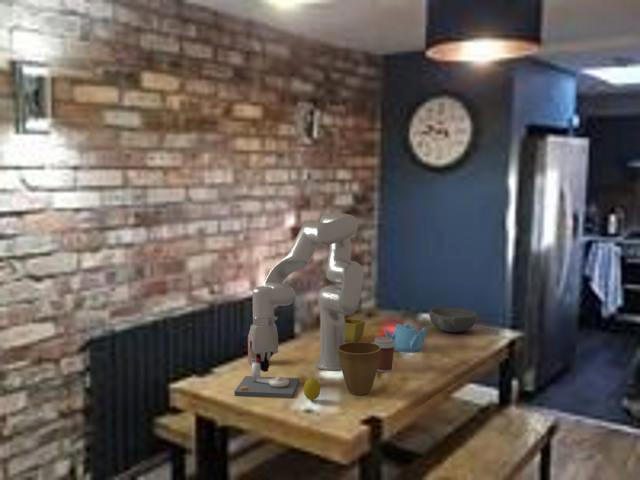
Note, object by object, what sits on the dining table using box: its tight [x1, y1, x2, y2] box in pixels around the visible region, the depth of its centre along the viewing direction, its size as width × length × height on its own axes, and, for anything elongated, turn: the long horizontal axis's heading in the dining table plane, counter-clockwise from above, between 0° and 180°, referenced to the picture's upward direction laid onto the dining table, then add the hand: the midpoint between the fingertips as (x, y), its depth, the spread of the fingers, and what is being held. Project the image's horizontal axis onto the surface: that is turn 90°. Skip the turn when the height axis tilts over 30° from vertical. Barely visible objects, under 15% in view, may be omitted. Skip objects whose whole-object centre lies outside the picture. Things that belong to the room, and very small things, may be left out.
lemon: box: [303, 377, 321, 402], centre depth 229 cm, size 6×6×8 cm
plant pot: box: [338, 341, 381, 396], centre depth 238 cm, size 15×15×16 cm
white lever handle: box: [251, 363, 289, 387], centre depth 243 cm, size 14×7×6 cm, turn 63°
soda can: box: [247, 330, 265, 366], centre depth 272 cm, size 7×7×13 cm
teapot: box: [384, 323, 428, 353], centre depth 294 cm, size 15×15×11 cm
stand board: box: [234, 375, 300, 399], centre depth 242 cm, size 20×17×2 cm
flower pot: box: [344, 317, 366, 343], centre depth 306 cm, size 9×9×9 cm
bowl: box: [428, 306, 478, 333], centre depth 324 cm, size 23×22×10 cm
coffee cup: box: [372, 336, 396, 373], centre depth 264 cm, size 9×9×12 cm
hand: (264, 370), depth 248 cm, fingers closed
